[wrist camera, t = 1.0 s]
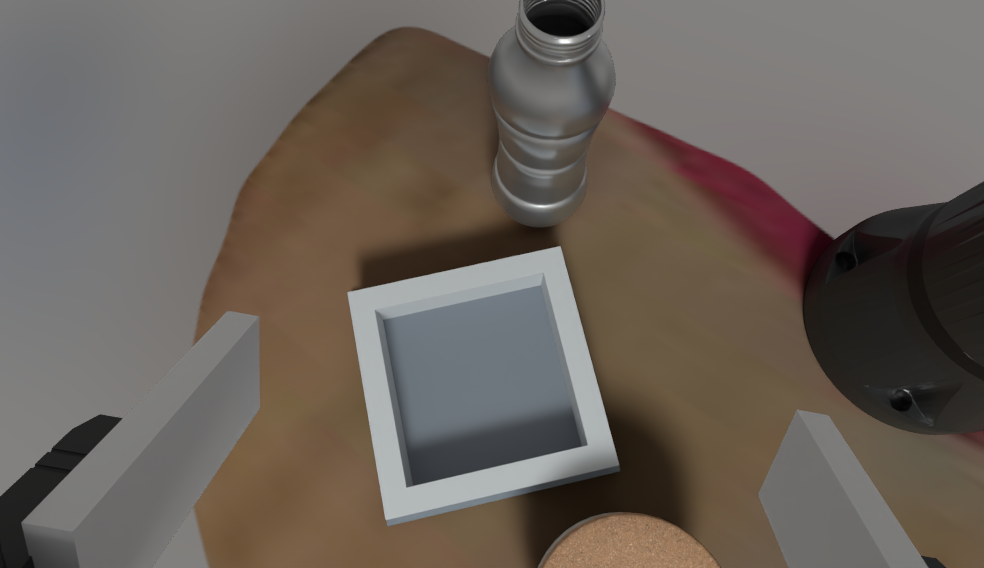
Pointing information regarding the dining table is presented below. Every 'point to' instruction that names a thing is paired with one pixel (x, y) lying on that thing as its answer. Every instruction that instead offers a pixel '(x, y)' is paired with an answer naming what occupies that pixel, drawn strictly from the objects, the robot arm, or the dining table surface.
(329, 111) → the dining table surface
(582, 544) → the lidded jar
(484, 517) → the dining table surface
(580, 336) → the light grey square tray
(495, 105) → the plastic bottle
